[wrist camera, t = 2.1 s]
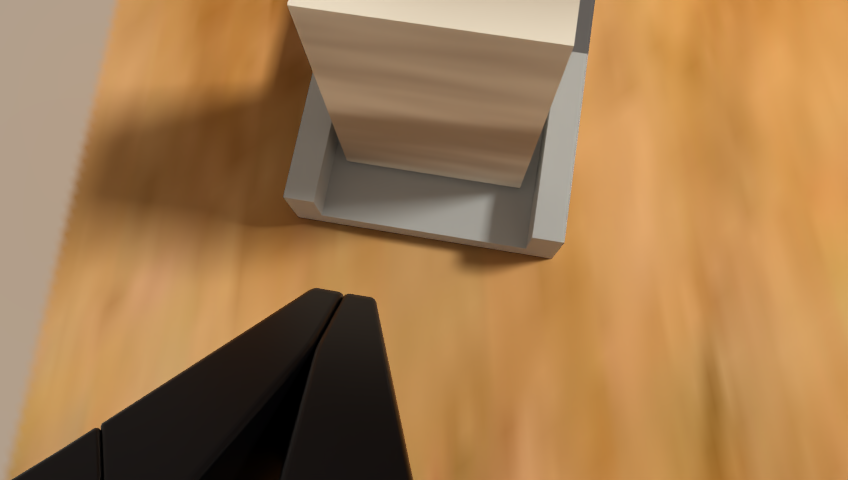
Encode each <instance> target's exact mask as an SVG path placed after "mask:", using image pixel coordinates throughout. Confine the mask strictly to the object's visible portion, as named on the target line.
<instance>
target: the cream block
mask: <svg viewBox="0 0 848 480" xmlns="http://www.w3.org/2000/svg"><path fill="white" fill-rule="evenodd" d="M579 4H580V0H288V4H287V6H288V8H289V11H290V14H291V16H292V19H293V21H294V24H295V27H296V29H297V32H298V35H299V37H300V40H301V42H302V45H303V48H304V50H305V53H306V55H307V58H308V61H309V63H310V66H311V68H312V71H313V74H314V76H315V79H316V81H317V84H318V87H319V89H320V92H321V95H322V97H323V100H324V102H325V105H326V108H327V110H328V113H329V115H330V118H331V121H332V123H333V126H334V128H335V131H336V134H337V136H338V139H339V141H340V144H341V147H342V149H343V152H344V154H345V157H346V160H347V161H350V162H357V163H363V164H369V165H376V166H382V167H388V168H395V169H401V170H407V171H414V172H420V173H426V174H433V175H439V176H445V177H452V178H458V179H464V180H471V181H477V182H483V183H490V184H496V185H503V186H509V187H515V188H520V187H521V184H522V181H523V179H524V176H525V174H526V171H527V168H528V166H529V163H530V160H531V158H532V155H533V152H534V150H535V147H536V145H537V142H538V139H539V137H540V134H541V131H542V129H543V126H544V124H545V121H546V118H547V116H548V113H549V110H550V108H551V105H552V102H553V100H554V97H555V95H556V92H557V89H558V87H559V84H560V81H561V79H562V76H563V74H564V71H565V68H566V66H567V63H568V60H569V58H570V55H571V52H572V50H573V47H574V42H575V34H576V27H577V19H578V12H579Z"/></svg>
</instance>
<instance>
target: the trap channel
mask: <svg viewBox="0 0 848 480" xmlns="http://www.w3.org/2000/svg"><path fill="white" fill-rule="evenodd" d="M594 4H595V0H580V4H579V12H578V19H577V27H576V34H575V42H574V47H573V50H572V52H571V55H570V58H569V60H568V63H567V66H566V68H565V71H564V74H563V76H562V79H561V81H560V84H559V87H558V89H557V92H556V95H555V97H554V100H553V102H552V105H551V108H550V110H549V113H548V116H547V118H546V121H545V124H544V126H543V129H542V131H541V134H540V137H539V139H538V142H537V145H536V147H535V150H534V152H533V155H532V158H531V160H530V163H529V166H528V168H527V171H526V174H525V176H524V179H523V181H522V184H521V187H520V188H515V187H509V186H503V185H496V184H490V183H483V182H477V181H471V180H464V179H458V178H452V177H445V176H439V175H433V174H426V173H420V172H414V171H407V170H401V169H395V168H388V167H382V166H376V165H369V164H363V163H357V162H350V161H347V160H346V157H345V154H344V152H343V149H342V147H341V144H340V141H339V139H338V136H337V134H336V131H335V128H334V126H333V123H332V121H331V118H330V115H329V113H328V110H327V108H326V105H325V102H324V100H323V97H322V95H321V92H320V89H319V87H318V84H317V81H316V79H315V76H314V74H313V73H312V78H311V82H310V86H309V90H308V94H307V99H306V103H305V107H304V111H303V115H302V120H301V124H300V128H299V132H298V136H297V141H296V145H295V149H294V153H293V157H292V162H291V166H290V170H289V174H288V178H287V183H286V187H285V191H284V195H283V198H284V199H285V200H286V202H287V203H288V204H289V206H290V207H291V208H292V209H293V211H294V212H295V213H296V215H297V216H298V217H301V218H307V219H313V220H319V221H325V222H331V223H337V224H343V225H350V226H356V227H362V228H368V229H374V230H380V231H386V232H392V233H398V234H404V235H410V236H417V237H423V238H429V239H435V240H441V241H447V242H453V243H459V244H465V245H471V246H478V247H484V248H490V249H496V250H502V251H508V252H514V253H520V254H526V255H532V256H538V257H545V258H551V259H552V258H553V256H554V255H555V254H556V253H557V251H558V250H559V249H560V248H561V246H562V245H563V244H564V241H565V233H566V225H567V218H568V210H569V202H570V194H571V186H572V178H573V170H574V162H575V154H576V146H577V138H578V130H579V123H580V115H581V107H582V99H583V91H584V83H585V75H586V67H587V59H588V51H589V43H590V35H591V27H592V20H593V12H594Z"/></svg>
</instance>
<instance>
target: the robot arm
mask: <svg viewBox="0 0 848 480" xmlns="http://www.w3.org/2000/svg"><path fill="white" fill-rule="evenodd" d="M12 480H413V477H412V473H411V468H410V463H409V458H408V453H407V449H406V444H405V439H404V434H403V429H402V425H401V420H400V415H399V410H398V405H397V401H396V396H395V391H394V386H393V381H392V377H391V372H390V367H389V362H388V357H387V353H386V348H385V343H384V338H383V333H382V329H381V324H380V319H379V314H378V309H377V304H376V301H375V299H373V298H371V297H366V296H360V295H354V294H347V295H345V296H344V297H343V295H342V294H341V293H340V292H336V291H331V290H325V289H319V288H314V289H311V290H309V291H307V292H306V293H304V294H303V295H301V296H300V297H298V298H297V299H295V300H293V301H292V302H290V303H289V304H287V305H286V306H284V307H283V308H281V309H279V310H278V311H276V312H275V313H273V314H272V315H270V316H269V317H267V318H265V319H264V320H262V321H261V322H259V323H258V324H256V325H255V326H253V327H251V328H250V329H248V330H247V331H245V332H244V333H242V334H241V335H239V336H237V337H236V338H234V339H233V340H231V341H230V342H228V343H227V344H225V345H223V346H222V347H220V348H219V349H217V350H216V351H214V352H213V353H211V354H209V355H208V356H206V357H205V358H203V359H202V360H200V361H199V362H197V363H195V364H194V365H192V366H191V367H189V368H188V369H186V370H185V371H183V372H181V373H180V374H178V375H177V376H175V377H174V378H172V379H171V380H169V381H167V382H166V383H164V384H163V385H161V386H160V387H158V388H157V389H155V390H153V391H152V392H150V393H149V394H147V395H146V396H144V397H143V398H141V399H139V400H138V401H136V402H135V403H133V404H132V405H130V406H129V407H127V408H125V409H124V410H122V411H121V412H119V413H118V414H116V415H115V416H113V417H111V418H110V419H108V420H107V421H105V422H104V423H102V425H101V430H100V429H99V428H94V429H92V430H91V431H89V432H88V433H86V434H85V435H83V436H81V437H80V438H78V439H77V440H75V441H74V442H72V443H71V444H69V445H67V446H66V447H64V448H63V449H61V450H59V451H58V452H56V453H54V454H53V455H51V456H50V457H48V458H46V459H45V460H43V461H41V462H40V463H38V464H37V465H35V466H33V467H32V468H30V469H28V470H27V471H25V472H23V473H22V474H20V475H19V476H17V477H15V478H14V479H12Z"/></svg>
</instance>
